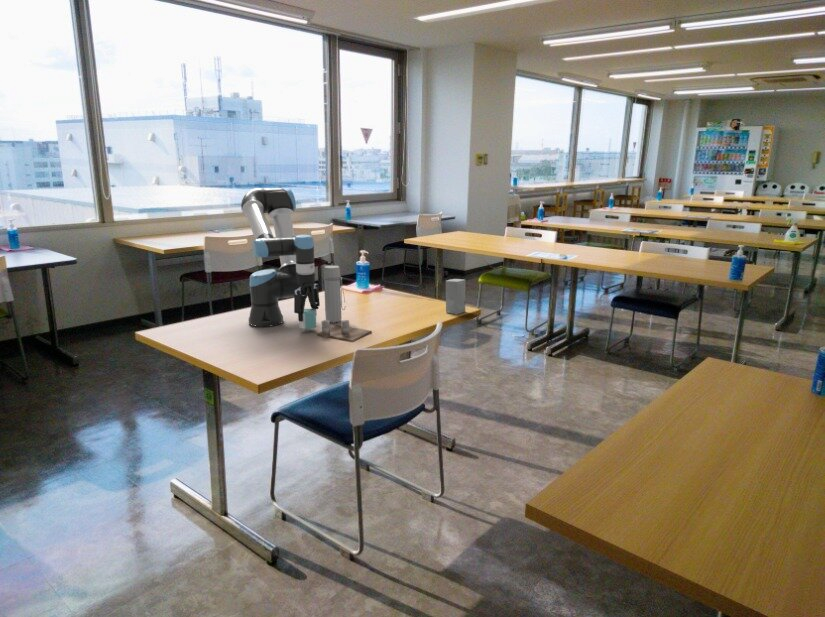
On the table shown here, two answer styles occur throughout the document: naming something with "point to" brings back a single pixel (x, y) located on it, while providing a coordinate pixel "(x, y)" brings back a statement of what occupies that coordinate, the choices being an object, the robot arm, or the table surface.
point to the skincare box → (455, 296)
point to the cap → (310, 318)
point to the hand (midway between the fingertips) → (308, 325)
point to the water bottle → (333, 293)
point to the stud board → (346, 337)
